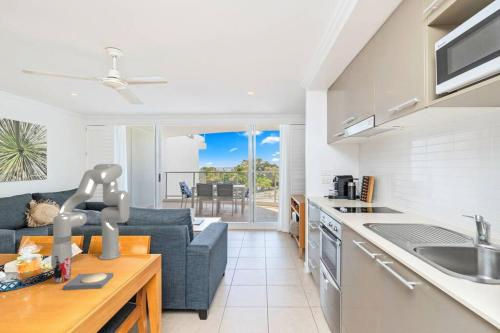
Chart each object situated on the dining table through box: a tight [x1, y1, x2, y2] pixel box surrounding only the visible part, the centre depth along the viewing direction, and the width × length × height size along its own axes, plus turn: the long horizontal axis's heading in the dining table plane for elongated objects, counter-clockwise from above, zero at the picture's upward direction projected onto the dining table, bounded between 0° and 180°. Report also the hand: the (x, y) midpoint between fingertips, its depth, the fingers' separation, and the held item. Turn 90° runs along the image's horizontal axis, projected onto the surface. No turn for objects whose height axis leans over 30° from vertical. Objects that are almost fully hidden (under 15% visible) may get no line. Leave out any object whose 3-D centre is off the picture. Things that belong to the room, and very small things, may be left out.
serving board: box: [63, 272, 114, 291], centre depth 134 cm, size 14×17×3 cm
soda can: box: [53, 257, 72, 284], centre depth 137 cm, size 7×7×12 cm
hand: (62, 274), depth 137 cm, fingers closed on soda can, 7 cm apart
